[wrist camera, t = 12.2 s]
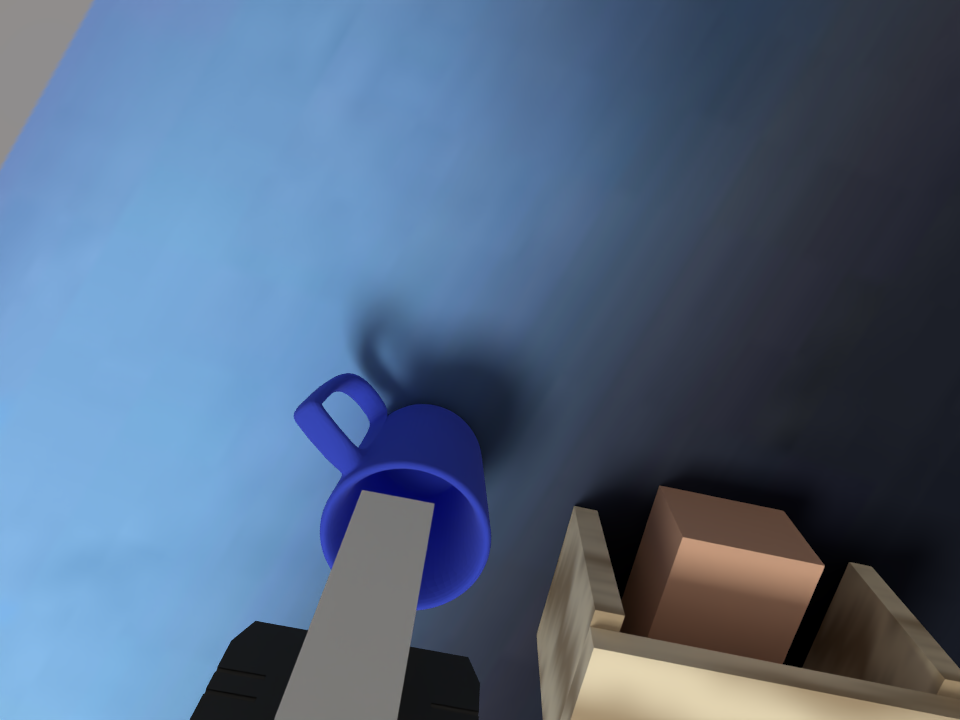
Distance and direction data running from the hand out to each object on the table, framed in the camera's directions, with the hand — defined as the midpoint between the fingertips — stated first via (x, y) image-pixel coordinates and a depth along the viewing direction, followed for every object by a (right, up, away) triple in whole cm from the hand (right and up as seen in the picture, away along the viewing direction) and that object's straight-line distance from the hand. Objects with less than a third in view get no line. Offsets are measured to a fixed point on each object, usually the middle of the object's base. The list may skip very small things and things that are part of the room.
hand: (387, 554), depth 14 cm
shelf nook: (+16, -12, +31) cm, 37 cm away
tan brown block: (+16, -10, +31) cm, 36 cm away
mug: (-3, 0, +28) cm, 28 cm away
